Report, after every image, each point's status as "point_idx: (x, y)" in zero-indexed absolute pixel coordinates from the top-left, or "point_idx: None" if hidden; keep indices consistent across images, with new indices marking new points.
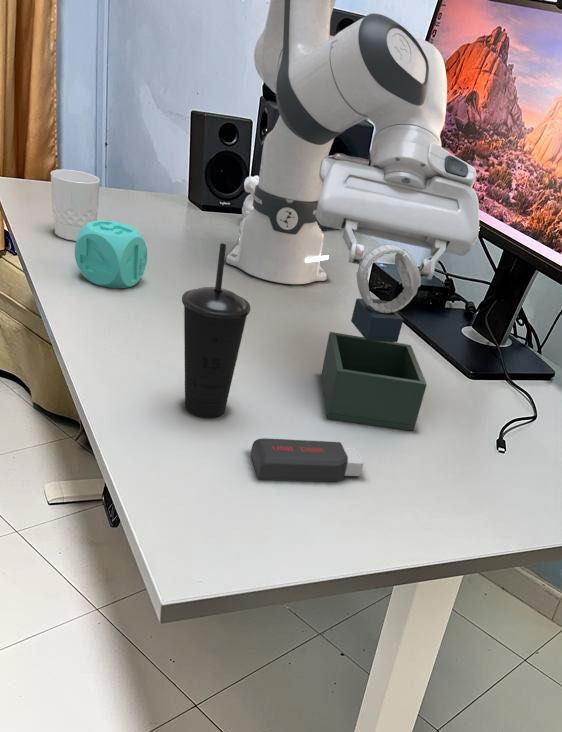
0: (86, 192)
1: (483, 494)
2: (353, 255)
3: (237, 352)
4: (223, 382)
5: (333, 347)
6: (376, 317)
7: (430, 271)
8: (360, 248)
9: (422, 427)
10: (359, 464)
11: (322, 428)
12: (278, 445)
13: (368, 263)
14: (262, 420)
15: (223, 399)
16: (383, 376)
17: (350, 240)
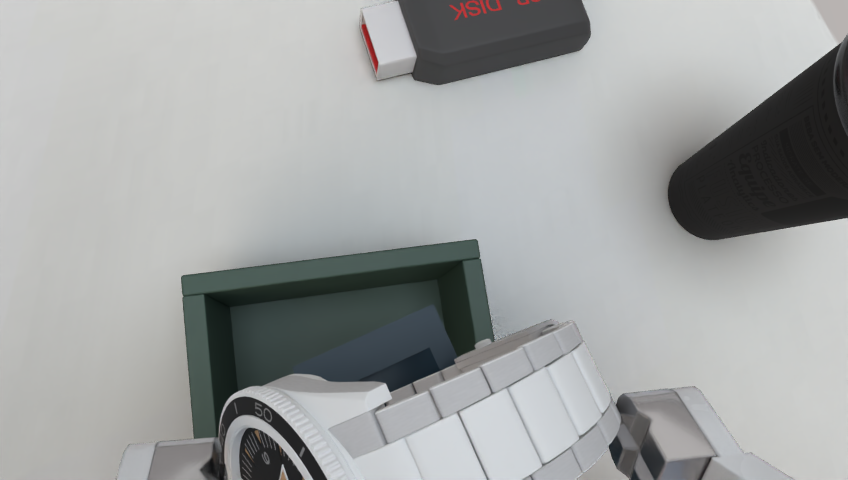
0: None
1: (59, 46)
2: (680, 391)
3: (756, 135)
4: (723, 133)
5: None
6: (416, 312)
7: (154, 443)
8: (673, 434)
9: (184, 330)
10: (368, 7)
11: (453, 213)
12: (545, 2)
13: (577, 330)
14: (586, 196)
15: (692, 161)
16: (332, 266)
17: (768, 466)
